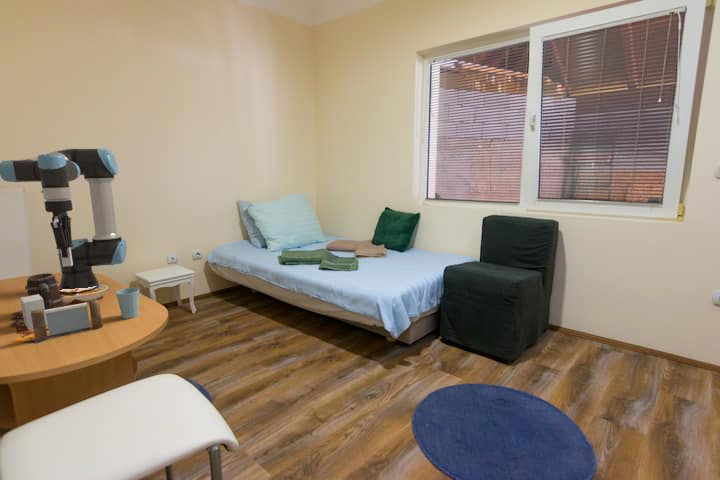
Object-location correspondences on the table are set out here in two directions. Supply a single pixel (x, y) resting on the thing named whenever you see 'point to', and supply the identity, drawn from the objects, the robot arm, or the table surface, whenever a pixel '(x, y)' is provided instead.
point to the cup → (128, 302)
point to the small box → (31, 308)
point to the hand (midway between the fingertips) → (67, 265)
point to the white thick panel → (67, 318)
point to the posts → (41, 332)
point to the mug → (45, 290)
